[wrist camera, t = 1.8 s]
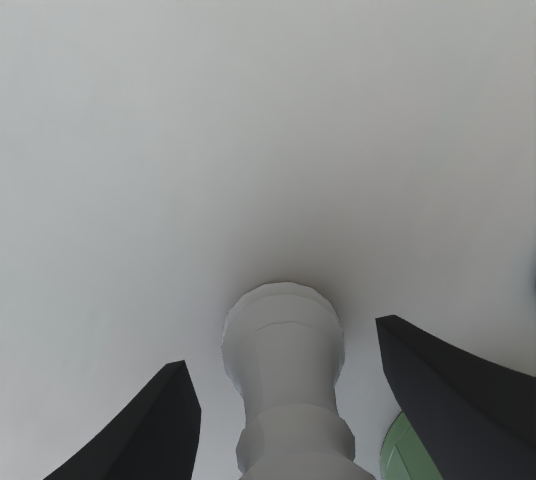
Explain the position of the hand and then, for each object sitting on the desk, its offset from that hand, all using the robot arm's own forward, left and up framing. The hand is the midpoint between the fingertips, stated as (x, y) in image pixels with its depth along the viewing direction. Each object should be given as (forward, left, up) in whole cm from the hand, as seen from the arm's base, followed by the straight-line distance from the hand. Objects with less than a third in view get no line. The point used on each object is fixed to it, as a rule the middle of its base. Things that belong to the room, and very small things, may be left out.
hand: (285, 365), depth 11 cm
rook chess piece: (0, 0, -2) cm, 2 cm away
